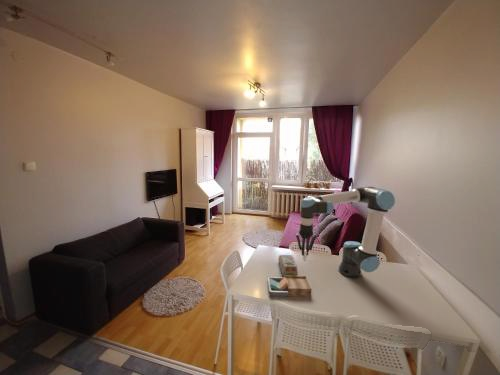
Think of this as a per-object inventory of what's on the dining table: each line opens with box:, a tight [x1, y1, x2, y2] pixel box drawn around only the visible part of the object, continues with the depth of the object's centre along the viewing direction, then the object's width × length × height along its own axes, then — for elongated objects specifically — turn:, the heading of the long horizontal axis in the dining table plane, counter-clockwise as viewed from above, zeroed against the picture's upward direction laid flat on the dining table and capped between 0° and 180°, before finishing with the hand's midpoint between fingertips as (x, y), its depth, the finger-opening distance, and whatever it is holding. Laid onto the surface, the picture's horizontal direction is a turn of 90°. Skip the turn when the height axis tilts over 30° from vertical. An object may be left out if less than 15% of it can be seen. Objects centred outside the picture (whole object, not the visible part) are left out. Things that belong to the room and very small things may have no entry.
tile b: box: [269, 279, 280, 291], centre depth 142 cm, size 6×6×2 cm
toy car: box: [278, 254, 299, 277], centre depth 164 cm, size 11×25×10 cm, turn 0°
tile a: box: [279, 277, 289, 291], centre depth 142 cm, size 6×6×2 cm
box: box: [267, 276, 289, 298], centre depth 142 cm, size 11×16×3 cm
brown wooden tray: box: [285, 275, 312, 297], centre depth 142 cm, size 14×14×5 cm
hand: (304, 260), depth 139 cm, fingers closed
